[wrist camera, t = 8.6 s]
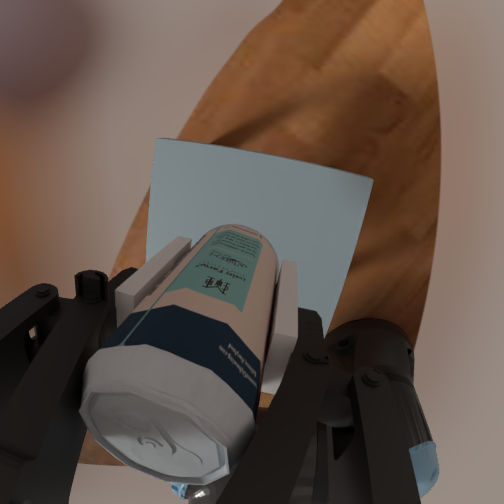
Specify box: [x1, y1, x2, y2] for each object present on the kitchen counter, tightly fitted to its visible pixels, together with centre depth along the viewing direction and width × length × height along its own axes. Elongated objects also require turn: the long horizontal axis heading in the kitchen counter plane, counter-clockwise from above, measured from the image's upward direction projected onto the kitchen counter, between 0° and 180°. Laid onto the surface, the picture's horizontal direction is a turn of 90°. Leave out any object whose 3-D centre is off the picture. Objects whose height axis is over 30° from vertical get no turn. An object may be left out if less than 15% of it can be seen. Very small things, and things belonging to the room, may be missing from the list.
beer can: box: [79, 224, 279, 485], centre depth 12 cm, size 5×5×12 cm
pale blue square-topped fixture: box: [146, 138, 374, 338], centre depth 29 cm, size 16×16×12 cm
